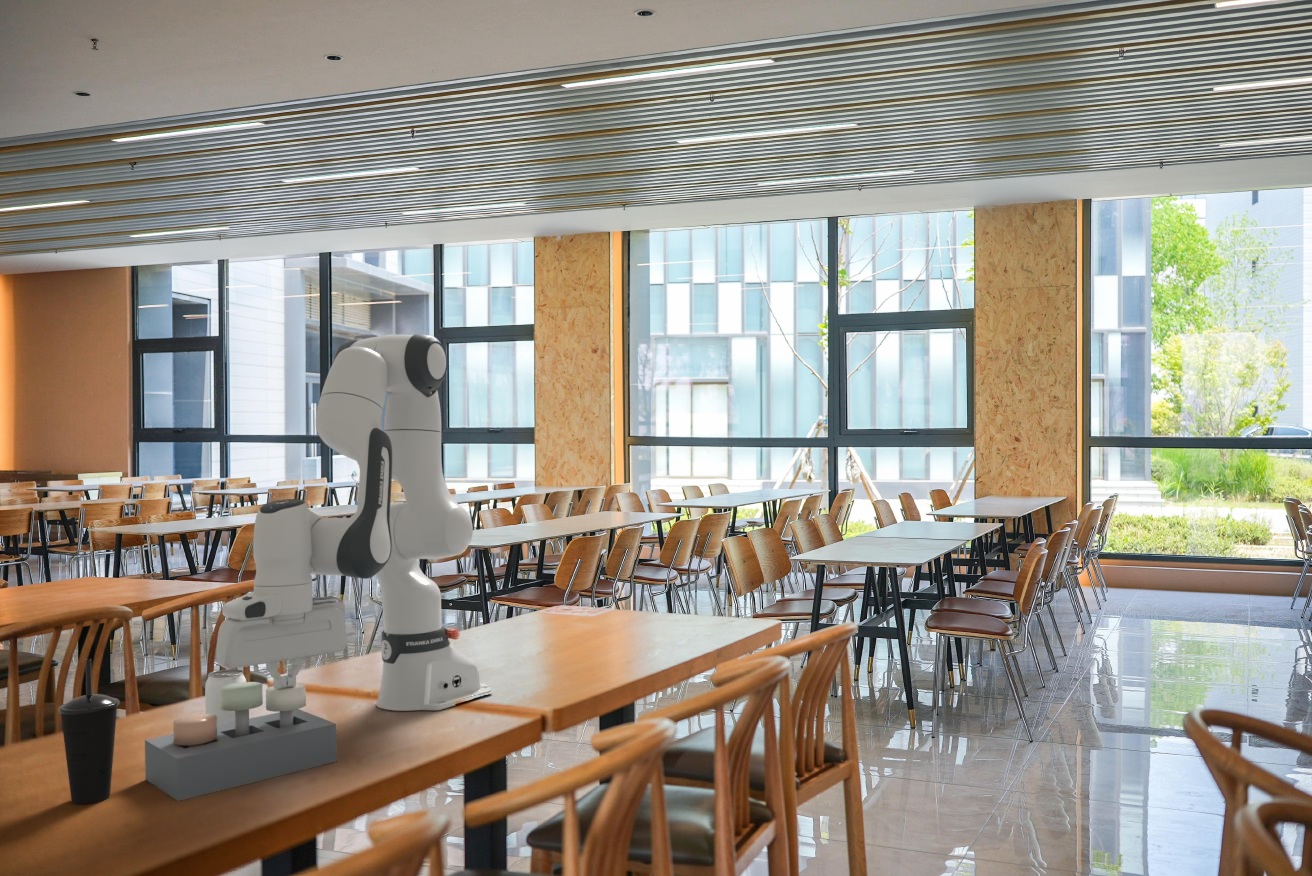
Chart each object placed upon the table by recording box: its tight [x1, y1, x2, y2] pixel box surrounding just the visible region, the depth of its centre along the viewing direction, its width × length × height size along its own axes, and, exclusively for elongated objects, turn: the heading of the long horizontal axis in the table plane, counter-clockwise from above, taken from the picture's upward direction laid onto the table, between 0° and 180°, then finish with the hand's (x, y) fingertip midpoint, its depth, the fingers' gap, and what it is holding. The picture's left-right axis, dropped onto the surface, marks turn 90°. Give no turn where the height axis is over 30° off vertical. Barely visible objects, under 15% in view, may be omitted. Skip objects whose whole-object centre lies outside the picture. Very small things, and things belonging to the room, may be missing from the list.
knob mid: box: [221, 681, 264, 737], centre depth 156 cm, size 6×6×8 cm
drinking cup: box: [58, 658, 120, 806], centre depth 144 cm, size 8×8×20 cm
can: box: [204, 668, 247, 725], centre depth 171 cm, size 6×6×12 cm
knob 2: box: [265, 683, 307, 728], centre depth 161 cm, size 6×6×8 cm
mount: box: [144, 709, 338, 802], centre depth 156 cm, size 24×14×6 cm, turn 134°
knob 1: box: [172, 713, 217, 748], centre depth 151 cm, size 6×6×8 cm
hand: (284, 687), depth 160 cm, fingers closed, pressing on knob 2
